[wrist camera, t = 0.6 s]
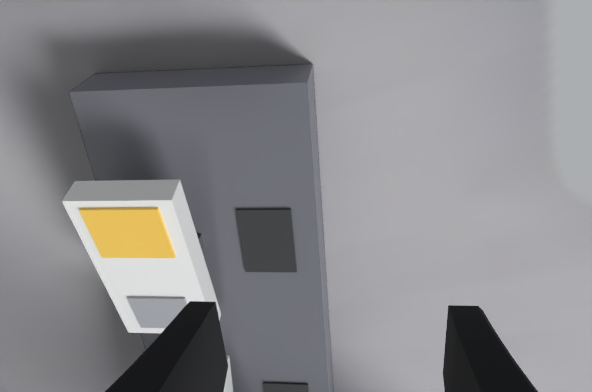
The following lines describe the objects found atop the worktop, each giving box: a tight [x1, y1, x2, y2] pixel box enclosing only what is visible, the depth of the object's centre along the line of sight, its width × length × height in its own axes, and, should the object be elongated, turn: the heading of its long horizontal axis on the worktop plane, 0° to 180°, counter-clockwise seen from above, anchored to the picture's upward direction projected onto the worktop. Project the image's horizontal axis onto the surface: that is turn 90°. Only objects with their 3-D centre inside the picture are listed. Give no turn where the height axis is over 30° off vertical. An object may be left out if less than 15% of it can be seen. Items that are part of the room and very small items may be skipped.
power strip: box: [69, 64, 334, 392], centre depth 23 cm, size 21×8×3 cm, turn 4°
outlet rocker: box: [62, 179, 221, 333], centre depth 19 cm, size 7×4×1 cm, turn 5°
